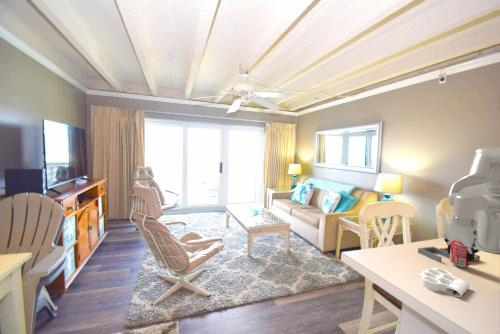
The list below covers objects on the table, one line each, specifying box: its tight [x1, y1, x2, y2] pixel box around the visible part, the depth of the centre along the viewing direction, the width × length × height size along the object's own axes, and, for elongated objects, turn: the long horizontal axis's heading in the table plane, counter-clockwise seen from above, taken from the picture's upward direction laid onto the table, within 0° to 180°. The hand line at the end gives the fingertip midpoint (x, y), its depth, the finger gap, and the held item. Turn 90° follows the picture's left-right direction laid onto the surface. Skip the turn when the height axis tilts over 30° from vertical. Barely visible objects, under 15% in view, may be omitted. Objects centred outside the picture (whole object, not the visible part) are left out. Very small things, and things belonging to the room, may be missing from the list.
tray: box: [439, 247, 481, 263], centre depth 115 cm, size 11×11×2 cm
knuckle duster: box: [417, 267, 471, 298], centre depth 89 cm, size 3×18×15 cm
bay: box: [417, 246, 450, 263], centre depth 114 cm, size 11×11×2 cm
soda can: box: [449, 240, 471, 268], centre depth 104 cm, size 7×7×12 cm
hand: (459, 256), depth 104 cm, fingers closed on soda can, 7 cm apart
